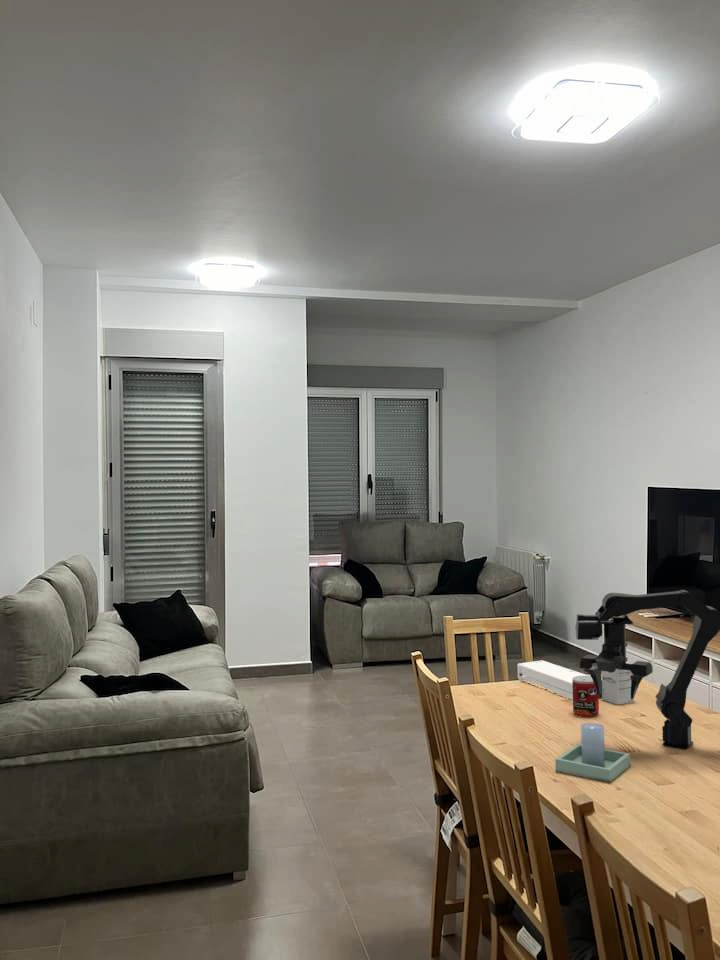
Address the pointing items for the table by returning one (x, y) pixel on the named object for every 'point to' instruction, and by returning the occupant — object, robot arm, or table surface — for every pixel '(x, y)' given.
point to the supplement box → (617, 686)
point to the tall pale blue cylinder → (593, 744)
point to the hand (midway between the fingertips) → (615, 696)
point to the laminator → (549, 676)
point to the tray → (573, 765)
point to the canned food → (585, 697)
